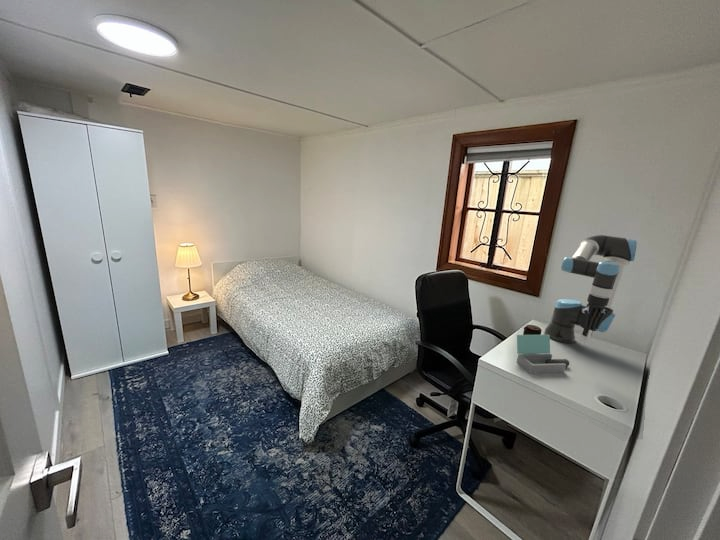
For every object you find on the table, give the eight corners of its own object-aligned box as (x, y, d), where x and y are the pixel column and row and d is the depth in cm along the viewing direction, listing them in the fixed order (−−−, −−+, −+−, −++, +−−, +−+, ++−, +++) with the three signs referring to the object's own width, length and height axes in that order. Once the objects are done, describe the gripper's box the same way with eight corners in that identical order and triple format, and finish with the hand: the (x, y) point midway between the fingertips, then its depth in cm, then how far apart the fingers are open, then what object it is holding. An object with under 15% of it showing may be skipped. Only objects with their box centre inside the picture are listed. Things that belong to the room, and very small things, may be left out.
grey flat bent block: (548, 360, 147) (550, 353, 146) (564, 372, 138) (566, 364, 137) (516, 361, 144) (518, 354, 143) (530, 373, 135) (532, 365, 134)
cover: (550, 353, 147) (549, 353, 147) (549, 334, 147) (548, 334, 148) (518, 353, 143) (517, 353, 144) (517, 335, 144) (516, 334, 144)
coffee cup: (540, 354, 153) (546, 331, 150) (524, 353, 153) (530, 330, 150) (531, 346, 161) (537, 324, 158) (516, 344, 161) (521, 322, 158)
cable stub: (563, 365, 146) (562, 358, 146) (569, 366, 142) (568, 359, 143) (546, 366, 144) (545, 358, 144) (551, 367, 140) (551, 359, 141)
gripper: (603, 293, 140) (588, 338, 146) (580, 292, 138) (566, 338, 144) (619, 298, 133) (603, 345, 139) (595, 298, 131) (580, 345, 137)
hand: (584, 341), depth 142 cm, fingers closed
